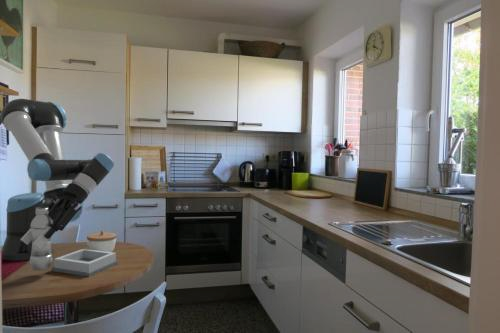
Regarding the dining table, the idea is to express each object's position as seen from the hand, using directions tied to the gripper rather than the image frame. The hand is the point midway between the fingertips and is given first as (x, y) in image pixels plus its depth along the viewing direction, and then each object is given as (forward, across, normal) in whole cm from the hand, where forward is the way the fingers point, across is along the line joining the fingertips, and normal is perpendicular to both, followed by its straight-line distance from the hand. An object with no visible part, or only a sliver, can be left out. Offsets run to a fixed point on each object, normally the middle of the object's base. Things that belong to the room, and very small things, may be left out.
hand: (30, 244), depth 110 cm
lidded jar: (-13, +5, -30) cm, 33 cm away
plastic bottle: (+4, 0, -9) cm, 10 cm away
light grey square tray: (-4, -4, -20) cm, 21 cm away
